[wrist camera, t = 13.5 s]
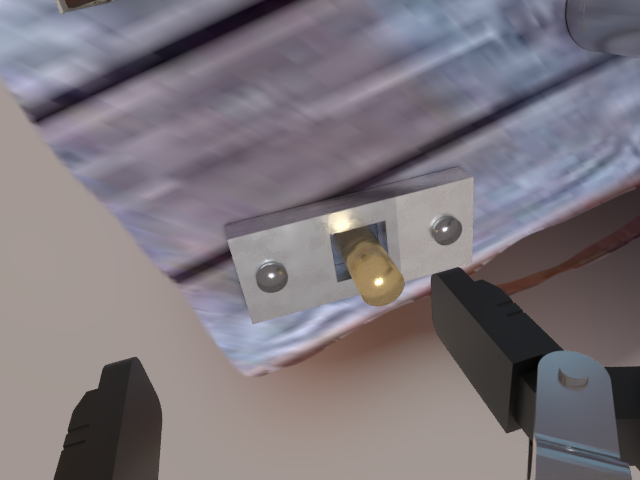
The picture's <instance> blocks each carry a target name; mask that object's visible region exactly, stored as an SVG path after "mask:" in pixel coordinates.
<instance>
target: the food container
mask: <svg viewBox="0 0 640 480" xmlns="http://www.w3.org/2000/svg"><path fill="white" fill-rule="evenodd" d="M113 1H117V0H55V2H56V5H57V7H58V9H59V12H60V14H64V13H65V12H69V11H74V10H78V9H83V8H87V7H92V6H96V5H101V4H106V3H110V2H113Z"/></svg>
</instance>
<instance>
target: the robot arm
mask: <svg viewBox="0 0 640 480" xmlns="http://www.w3.org/2000/svg"><path fill="white" fill-rule="evenodd" d="M566 18H567V24H568V29H569V31H570V34H571V36H572V38H573V39H574V40H575V42H576V43H577V44H578V45H580V46H581V47H583V48H585V49H588V50H591V51H597V52H603V53H610V54H616V55H622V56H628V57H635V58H640V0H568V2H567V15H566ZM431 299H432V319H433V324H434V327H435V330H436V332H437V335H438V336H439V338H440V339H441V341H442V342H443V344H444V345H445V347H446V348H447V350H448V351H449V352H450V354H451V355H452V357H453V358H454V360H455V361H456V362H457V364H458V365H459V366H460V368H461V369H462V371H463V372H464V374H465V375H466V377H467V378H468V379H469V381H470V382H471V384H472V385H473V386H474V388H475V389H476V391H477V392H478V394H479V395H480V396H481V398H482V399H483V401H484V402H485V403H486V405H487V406H488V408H489V409H490V411H491V412H492V413H493V415H494V416H495V418H496V419H497V421H498V422H499V423H500V425H501V426H502V428H503V429H504V431H505V432H506V433H509V432H512V431H515V430H518V429H521V428H522V429H523V431H524V432H525V433H526V435H527V436H528V437H529V440H528V452H527V453H528V454H527V470H526V480H632V477H631V471H630V468H629V466H636V467H637V468H638V469H639V471H640V366H639V367H638V366H637V367H603V366H602V365H601V364H600V363H598V362H597V361H596V360H594V359H592V358H591V357H589V356H586V355H584V354H581V353H578V352H573V351H564V350H563V349H562V348H561V347H560V346H559V345H558V344H557V343H556V342H555V341H554V340H553V339H552V338H550V336H548V335H547V334H546V333H545V332H544V331H543V330H542V329H541V328H540V327H539V326H538V325H537V324H536V323H535V322H534V321H533V320H532V319H531V318H530V317H529V316H528V315H527V314H526V313H523V311H522V309H521V308H520V307H519V306H518V305H517V304H516V303H513V301H512V299H511V298H510V297H509V296H507V295H506V294H505V293H504V292H503V291H502V290H501V289H500V288H499V287H497V286H495V285H492V284H490V283H488V282H486V281H484V280H479V281H475V282H474V281H473V280H472V279H471V278H470V277H469V276H468V275H467V274H466V273H465V272H464V271H463V270H462V269H461V268H459V267H457V268H453V269H449V270H446V271H442V272H439V273H435V274H433V275H432V276H431ZM161 431H162V410H161V405H160V402H159V399H158V396H157V394H156V392H155V390H154V388H153V386H152V384H151V382H150V380H149V378H148V376H147V374H146V372H145V370H144V368H143V366H142V364H141V362H140V360H139V359H138V358H137V357H133V358H129V359H125V360H122V361H118V362H115V363H111V364H108V365H105V366H104V368H103V370H102V374H101V378H100V382H99V387H98V389H95V390H91V391H88V392H86V393H85V395H84V396H83V398H82V399H81V401H80V402H79V403H78V405H77V406H76V408H75V409H74V411H73V413H72V417H71V421H70V424H69V427H68V434H67V435H66V438H65V442H64V445H63V447H64V450H63V451H62V452H61V455H60V459H59V463H58V466H57V469H56V473H55V476H54V480H158V472H159V458H160V444H161Z"/></svg>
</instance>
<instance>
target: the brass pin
mask: <svg viewBox="0 0 640 480" xmlns="http://www.w3.org/2000/svg"><path fill="white" fill-rule="evenodd" d="M334 244H335V246H336V248H337V250H338V252H339V254H340V256H341V258H342V260H343V262H344V264H345V266H346V268H347V269H348V271H349V273H350V275H351V277H352V279H353V281H354V283H355V285H356V287H357V289H358V291H359V293H360V294H361V296H362V298H363V300H364V301H365V302H366V303H367V304H369V305H372V306H383V305H387V304H389V303H391V302H393V301H394V300H395V299H397V298H398V297H399V295H400V294H401V293H402V291H403V288H404V277H403V275H402V274H401V273H400V271H399V270H398V268H397V267H396V265H395V264H394V262H393V261H392V260H391V258H390V257H389V255H388V254H387V252H386V251H385V249H384V248H383V247H382V245H381V244H380V242H379V241H378V239H377V238H376V236H375V235H374V234H373V232H372V231H371V229H370V228H369V226H368V225H366V226H363V227H359V228H355V229H351V230H347V231H343V232H340V233H336V234H335V236H334Z"/></svg>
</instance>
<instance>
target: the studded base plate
mask: <svg viewBox="0 0 640 480" xmlns="http://www.w3.org/2000/svg"><path fill="white" fill-rule="evenodd" d="M473 196H474V177H473V176H472V175H470V174H469V173H467V172H466V171H464V170H463V169H461V168H460V167H455V168H451V169H447V170H443V171H439V172H435V173H431V174H427V175H423V176H419V177H415V178H411V179H407V180H403V181H399V182H395V183H391V184H387V185H383V186H379V187H375V188H371V189H367V190H363V191H359V192H355V193H351V194H347V195H343V196H339V197H335V198H331V199H327V200H323V201H319V202H315V203H311V204H307V205H303V206H299V207H295V208H291V209H287V210H283V211H279V212H275V213H271V214H267V215H263V216H259V217H255V218H251V219H247V220H243V221H239V222H235V223H231V224H227V225H225V228H226V235H227V241H228V244H229V248H230V251H231V254H232V258H233V261H234V264H235V267H236V271H237V274H238V277H239V281H240V284H241V287H242V290H243V294H244V297H245V300H246V304H247V307H248V310H249V314H250V317H251V320H252V323H253V324H256V323H259V322H263V321H266V320H270V319H273V318H277V317H281V316H284V315H288V314H291V313H295V312H298V311H302V310H306V309H309V308H313V307H316V306H320V305H323V304H327V303H330V302H334V301H338V300H341V299H345V298H348V297H352V296H355V295H359V294H360V293H359V291H358V289H357V287H356V285H355V283H354V281H353V279H352V277H351V275H350V273H349V271H348V269H347V268H346V266H345V264H344V263H343V264H340V265H336V266H335V265H334V259H333V253H332V247H331V241H330V235H332V234H336V233H340V232H343V231H347V230H351V229H355V228H359V227H363V226H366V225H370V224H374V223H376V224H377V234H378V241H379V242H380V244H381V245H382V247H383V248H384V249H385V251H386V252H387V254H388V255H389V257H390V258H391V260H392V261H393V262H394V264H395V265H396V267H397V268H398V270H399V271H400V273H401V274H402V275H403V277H404V282H405V281H409V280H412V279H416V278H420V277H423V276H427V275H430V274H434V273H437V272H441V271H444V270H448V269H452V268H455V267H459V266H462V265H466V264H469V263H472V244H473Z"/></svg>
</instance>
